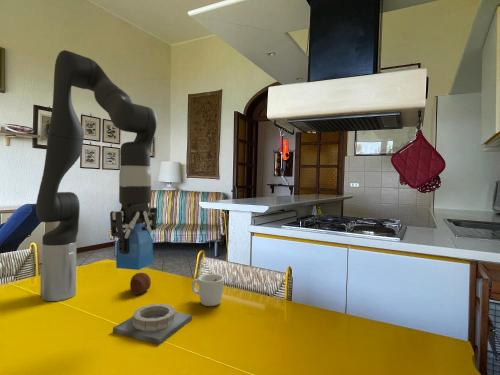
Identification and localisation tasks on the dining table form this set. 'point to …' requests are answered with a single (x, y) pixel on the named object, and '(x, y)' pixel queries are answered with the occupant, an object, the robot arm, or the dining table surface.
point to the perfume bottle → (136, 249)
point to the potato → (140, 283)
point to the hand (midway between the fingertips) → (135, 250)
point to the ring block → (153, 323)
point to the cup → (209, 289)
